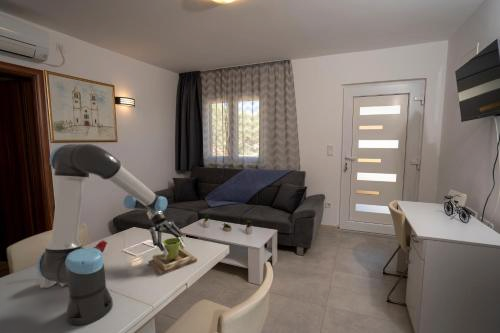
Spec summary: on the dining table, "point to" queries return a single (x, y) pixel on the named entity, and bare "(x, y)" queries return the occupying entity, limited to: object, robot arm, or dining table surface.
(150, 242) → the photo frame
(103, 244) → the decorative bird figurine
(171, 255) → the plant pot
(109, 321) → the dining table surface
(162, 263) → the walnut pot stand
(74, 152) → the robot arm
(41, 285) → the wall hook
